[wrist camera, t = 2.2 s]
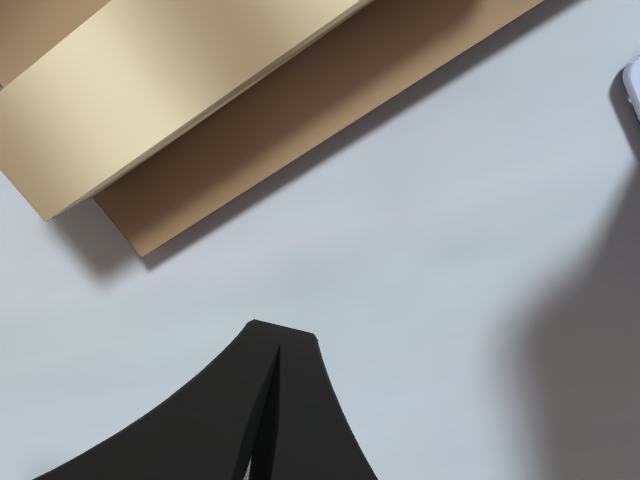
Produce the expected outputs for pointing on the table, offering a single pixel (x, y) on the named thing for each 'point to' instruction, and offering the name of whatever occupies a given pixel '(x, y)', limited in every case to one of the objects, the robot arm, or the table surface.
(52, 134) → the leg
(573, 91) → the table surface
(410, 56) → the stool board
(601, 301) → the table surface
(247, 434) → the robot arm
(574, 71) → the table surface
